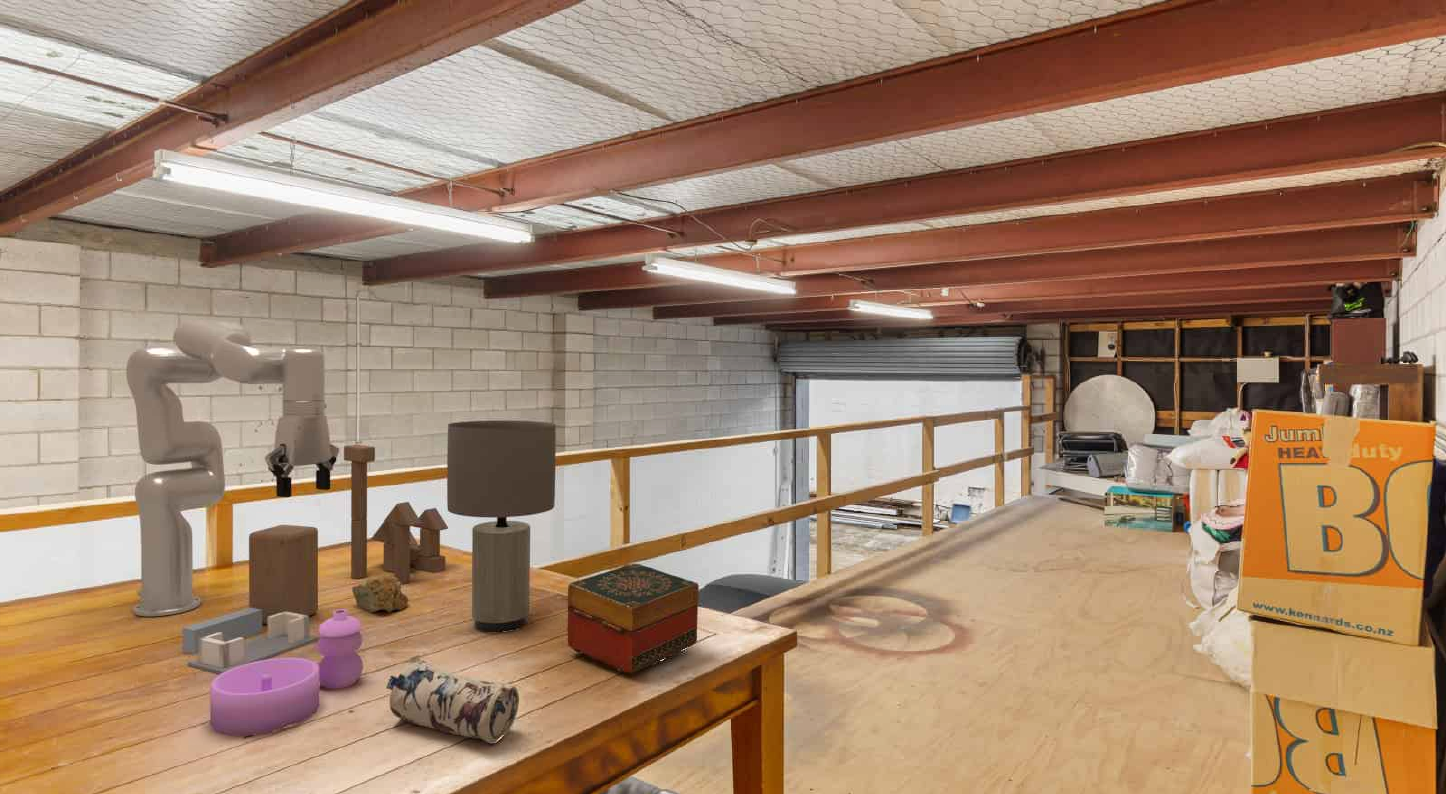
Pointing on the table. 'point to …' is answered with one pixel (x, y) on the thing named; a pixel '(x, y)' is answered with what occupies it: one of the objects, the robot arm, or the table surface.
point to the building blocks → (391, 528)
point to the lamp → (500, 509)
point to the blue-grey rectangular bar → (223, 628)
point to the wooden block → (284, 570)
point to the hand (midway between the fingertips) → (304, 492)
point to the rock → (380, 594)
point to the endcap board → (253, 644)
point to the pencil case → (453, 702)
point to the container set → (286, 683)
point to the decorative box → (632, 616)
